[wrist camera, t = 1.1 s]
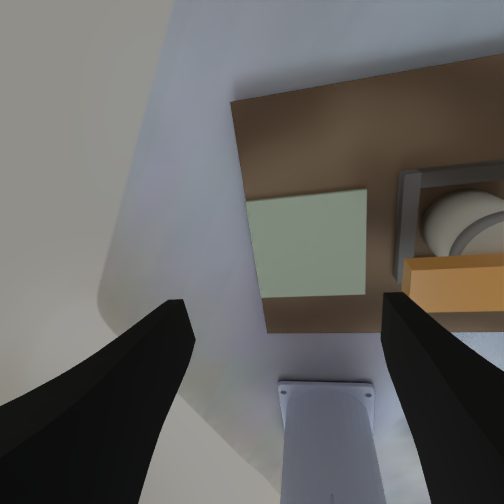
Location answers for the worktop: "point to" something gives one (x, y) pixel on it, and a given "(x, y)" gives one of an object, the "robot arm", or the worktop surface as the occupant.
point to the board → (377, 171)
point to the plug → (464, 223)
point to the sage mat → (310, 244)
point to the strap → (455, 282)
